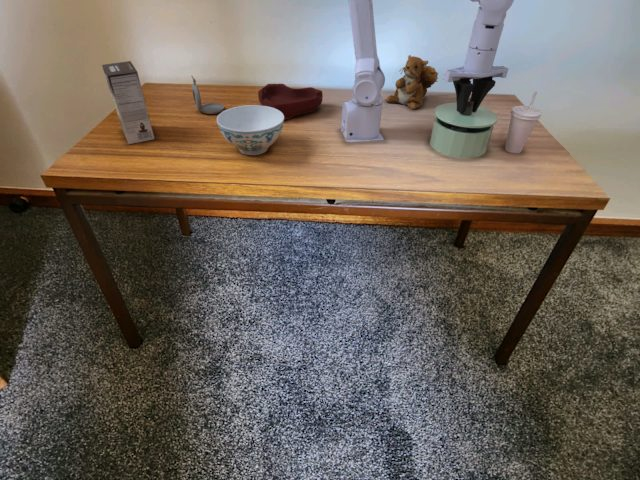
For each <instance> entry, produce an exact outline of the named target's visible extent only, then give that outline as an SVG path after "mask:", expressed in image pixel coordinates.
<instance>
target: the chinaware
mask: <svg viewBox="0 0 640 480" xmlns="http://www.w3.org/2000/svg"><path fill="white" fill-rule="evenodd" d="M216 123H217V126H218V129H219V131H220V133H221V134H222V136H223V137H224V139H225V141H227V142H228V143H229V144H230V145H232V147H235V148H236V149H238V151H239V152H240V153H241V154H243V155H247V156H259V155H262V154H264V153H266V152H267V151H268V150H269V147H271V146H272V145H273V144H274V143H275V142H276V141H277V140H278V138H279V137H280V135H281V132H282V131H283V127H284V123H285V120H284V115H283V113H282V112H281V111H279V110H277V109H275V108H272V107H268V106H262V105H261V104H259V105H258V104H247V105H239V106H234V107H231V108H230V107H229V108H227V109H225V110H223V111H221V112H219V113H218V115H217V117H216Z"/></svg>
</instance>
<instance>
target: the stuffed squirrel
mask: <svg viewBox="0 0 640 480" xmlns="http://www.w3.org/2000/svg"><path fill="white" fill-rule="evenodd" d="M428 64H429V60H423V59H422V58H420V57H418V56H412V55H411V54H409V55H407V60H406V63H405V65H404V67H403V66H402V68H401V69H399V72H400V75H402V74H403V73H404V75H403V76H402V77H400V78H399V79H397V80H396V81H395V88H396V89H395V91H394V94H393V95H388V96H387V97H386V98H385V101H386V103H389V104H391V103H392V104H393V103H399V104H400V105H401V104H402V105H404V106H407V107H408V108H409V109H410V110H413V111H414V110H417V109H419V108H421V106H422V104H423V100H424V98H426V95H427V93H428V89H430V88H432V86H433V85H435V83H436V82H437V83H438V79H439V77H438V76H439V72H437V71H436V68H434V67H432V66H431V65H428Z"/></svg>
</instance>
